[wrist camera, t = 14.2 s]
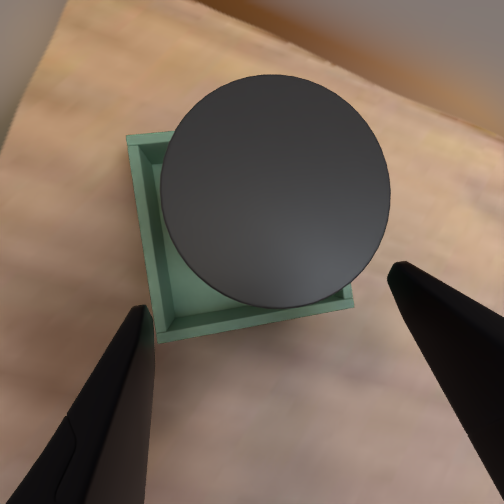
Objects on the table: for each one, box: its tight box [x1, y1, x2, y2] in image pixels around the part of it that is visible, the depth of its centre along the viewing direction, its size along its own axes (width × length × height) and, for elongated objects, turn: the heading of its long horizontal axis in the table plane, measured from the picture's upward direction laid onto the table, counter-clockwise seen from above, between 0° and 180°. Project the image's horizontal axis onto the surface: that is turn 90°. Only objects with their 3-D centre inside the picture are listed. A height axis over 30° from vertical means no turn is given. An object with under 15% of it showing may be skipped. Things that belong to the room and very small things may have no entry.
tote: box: [126, 131, 354, 344], centre depth 18 cm, size 12×12×4 cm
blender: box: [160, 75, 391, 309], centre depth 14 cm, size 7×7×12 cm
